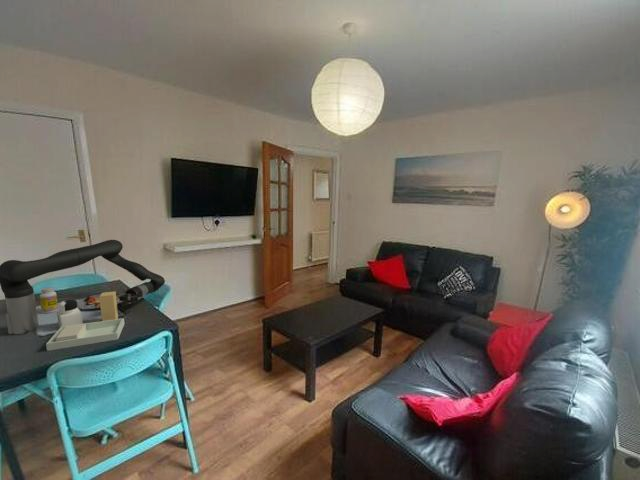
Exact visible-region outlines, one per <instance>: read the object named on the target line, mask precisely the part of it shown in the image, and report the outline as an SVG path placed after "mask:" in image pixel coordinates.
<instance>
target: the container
mask: <svg viewBox="0 0 640 480" xmlns="http://www.w3.org/2000/svg"><path fill="white" fill-rule="evenodd" d="M77 302H78V301H77V300H75V299H67V300H63V301H61V302H59V303H58V310H59V311H56V315H57V324H58V327H59V328H60V327H63V326H68V325H75V324H83V323H84V322H83V317H82V316H83V315H82V311H81V309H80V308H78V306H77Z"/></svg>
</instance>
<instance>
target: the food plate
mask: <svg viewBox="0 0 640 480" xmlns="http://www.w3.org/2000/svg"><path fill="white" fill-rule="evenodd" d="M114 291H115V290H112V291H111V292H114ZM102 293H103V292H100V293H95V294H91V295H87V296H86V297H84V298H82V299H80V300H78V301H77V306H78V309H79V310H87V309H88V310H91V309H101V306H100V297H99V296H100V295H101V294H102ZM116 294H119V295H122V294H125V292H119V291H116ZM118 300H120V298H119V299H118ZM121 302H123V301H121ZM121 302H117V305H119V304H121ZM91 306H92V308H91ZM93 306H95V307H93Z"/></svg>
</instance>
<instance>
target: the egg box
mask: <svg viewBox="0 0 640 480" xmlns="http://www.w3.org/2000/svg"><path fill="white" fill-rule="evenodd" d="M85 323H86V322H85ZM85 323H84V322H83V324H75V325H68V326H66V327H65V328H64V329H63V330H62V331H61V333H60V334H59V335H58V336H57V337H56V342H57V341H63V340H70V339H76V338H82V337H83V336H84V334H85V333H86V325H85Z"/></svg>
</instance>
